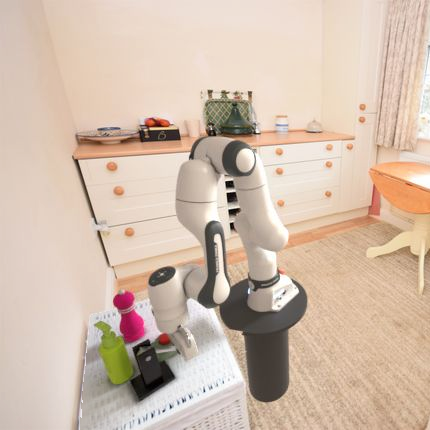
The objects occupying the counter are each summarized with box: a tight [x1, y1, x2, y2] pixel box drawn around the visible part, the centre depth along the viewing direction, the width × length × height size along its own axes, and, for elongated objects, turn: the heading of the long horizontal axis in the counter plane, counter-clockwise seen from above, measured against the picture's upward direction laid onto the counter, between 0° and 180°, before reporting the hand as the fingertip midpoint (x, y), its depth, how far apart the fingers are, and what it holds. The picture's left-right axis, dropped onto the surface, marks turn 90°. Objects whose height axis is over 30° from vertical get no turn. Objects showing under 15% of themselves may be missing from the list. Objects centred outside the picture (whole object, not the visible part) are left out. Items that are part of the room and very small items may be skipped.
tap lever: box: [137, 344, 181, 355], centre depth 87 cm, size 12×5×2 cm, turn 138°
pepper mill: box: [112, 288, 146, 343], centre depth 99 cm, size 7×7×20 cm
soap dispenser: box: [93, 320, 134, 385], centre depth 85 cm, size 6×7×20 cm
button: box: [158, 333, 171, 345], centre depth 97 cm, size 4×4×2 cm
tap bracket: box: [129, 338, 176, 402], centre depth 85 cm, size 10×8×14 cm
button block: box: [150, 334, 178, 363], centre depth 98 cm, size 11×8×4 cm
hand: (181, 350), depth 92 cm, fingers open, 8 cm apart
